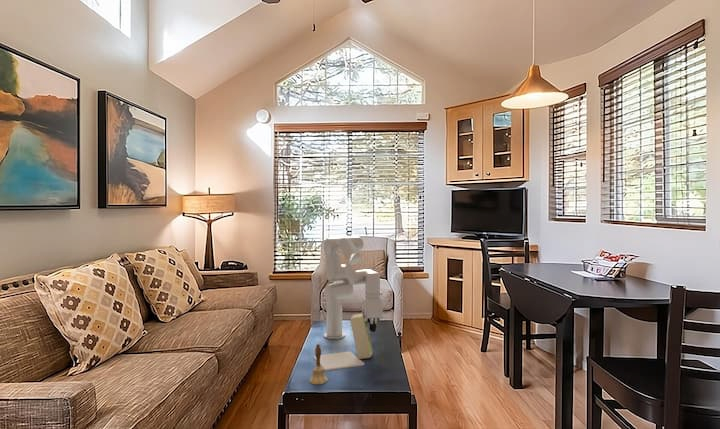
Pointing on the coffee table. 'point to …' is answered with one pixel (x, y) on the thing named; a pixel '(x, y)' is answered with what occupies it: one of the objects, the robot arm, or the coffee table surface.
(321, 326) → the coffee table surface
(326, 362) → the sheet of paper
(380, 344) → the coffee table surface
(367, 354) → the toy refrigerator
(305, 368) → the coffee table surface
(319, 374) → the hand bell
